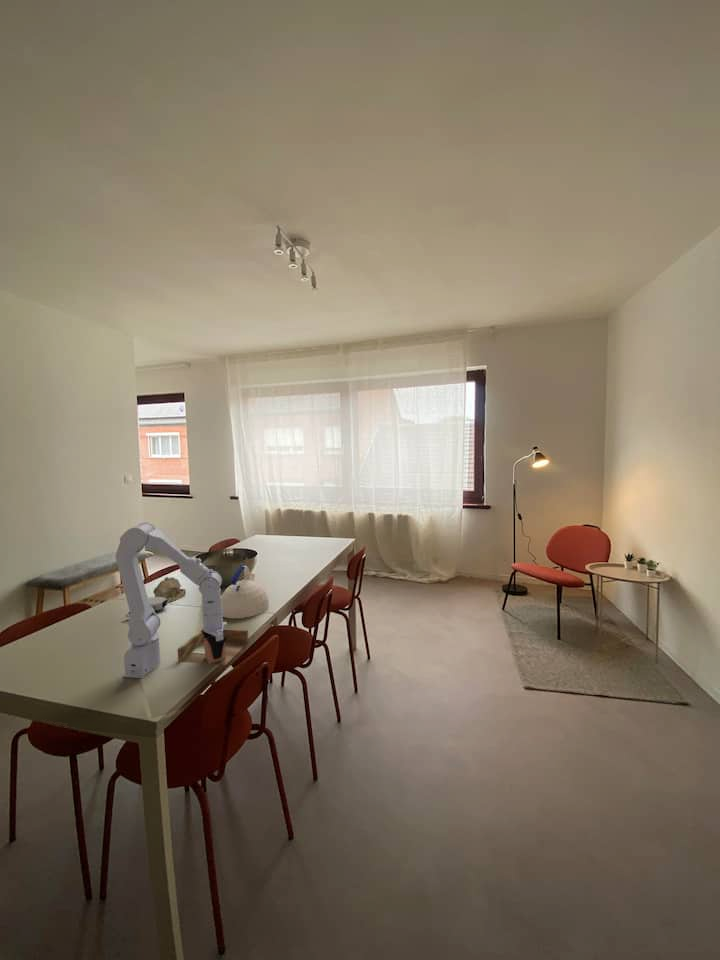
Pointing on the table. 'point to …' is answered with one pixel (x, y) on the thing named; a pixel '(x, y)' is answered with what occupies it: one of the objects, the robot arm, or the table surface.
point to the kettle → (244, 597)
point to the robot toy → (156, 603)
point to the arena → (196, 650)
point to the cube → (209, 652)
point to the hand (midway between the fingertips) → (215, 654)
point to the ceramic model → (169, 589)
